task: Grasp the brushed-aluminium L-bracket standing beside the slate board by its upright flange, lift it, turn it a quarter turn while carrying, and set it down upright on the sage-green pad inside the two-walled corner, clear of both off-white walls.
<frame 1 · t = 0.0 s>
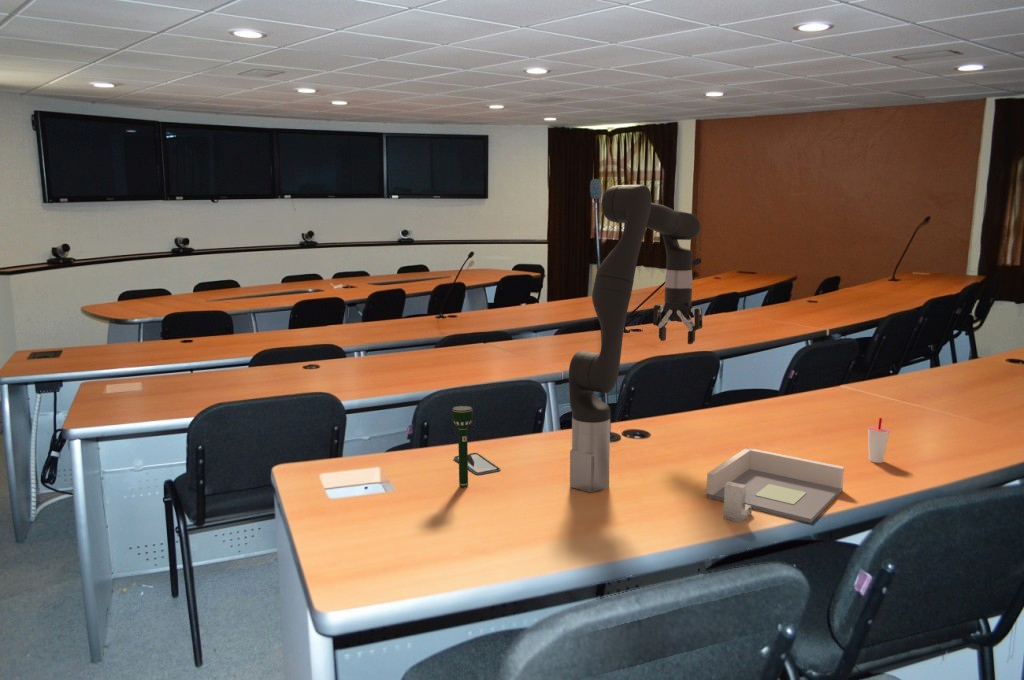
hand: (676, 342, 215), 29 cm above the table, fingers open, 8 cm apart
smartphone: (476, 466, 201), on the table
flashlight: (463, 487, 185), on the table
bracket: (737, 516, 167), on the table
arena: (775, 494, 179), on the table
cup: (875, 461, 202), on the table
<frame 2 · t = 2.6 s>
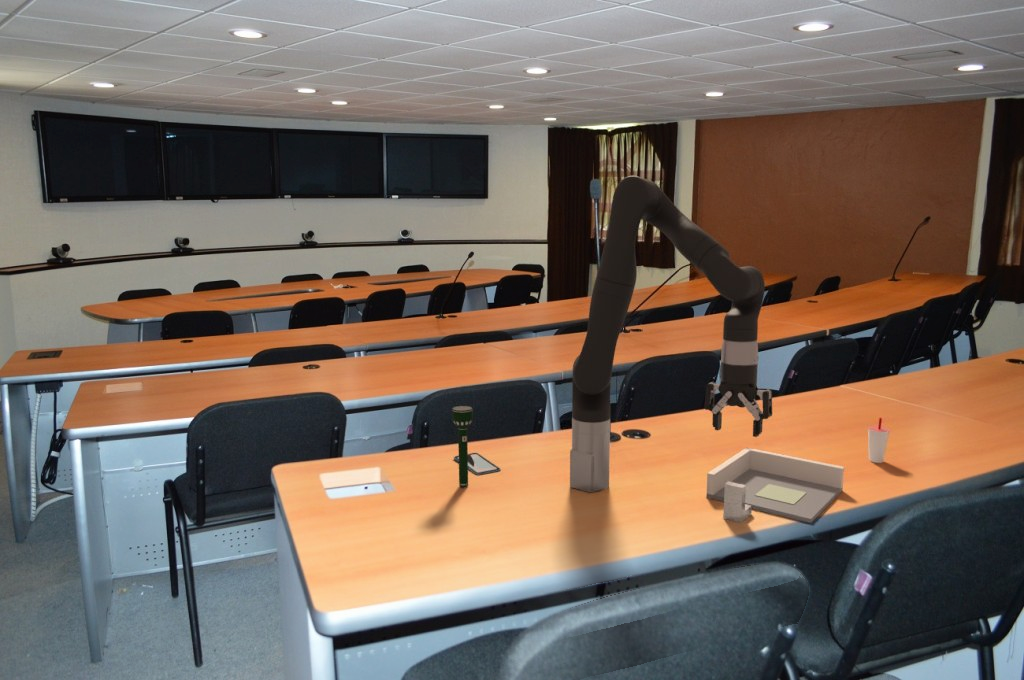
hand: (736, 432, 164), 19 cm above the table, fingers open, 8 cm apart
nothing on the table moved.
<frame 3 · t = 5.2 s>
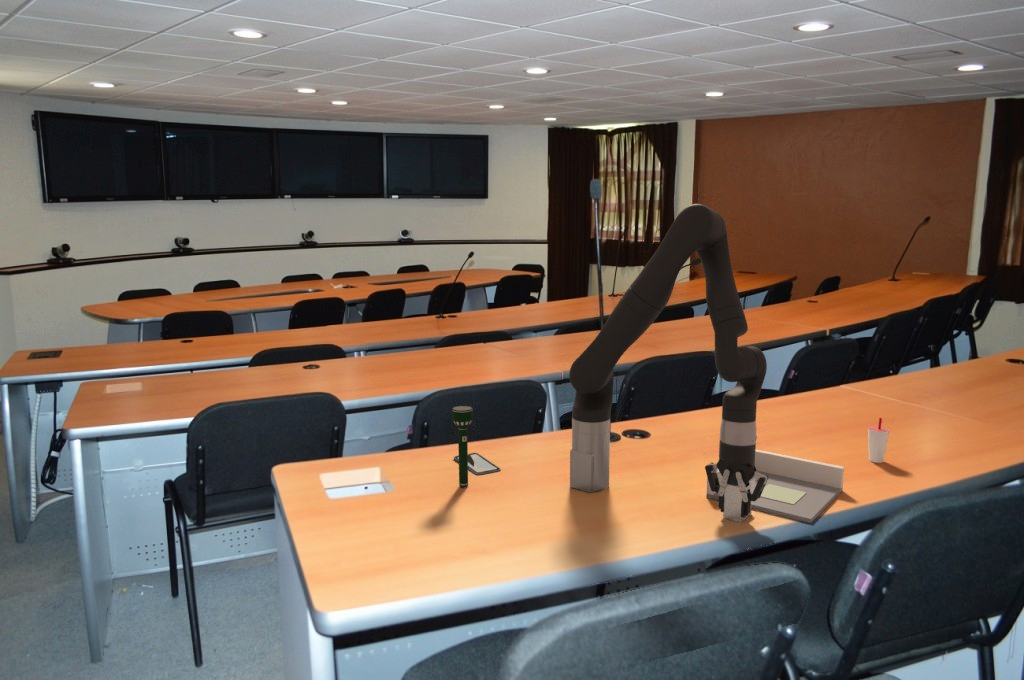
hand: (734, 513, 165), 1 cm above the table, fingers closed on bracket, 4 cm apart
bracket: (737, 516, 167), on the table, touching gripper
everything else where it was.
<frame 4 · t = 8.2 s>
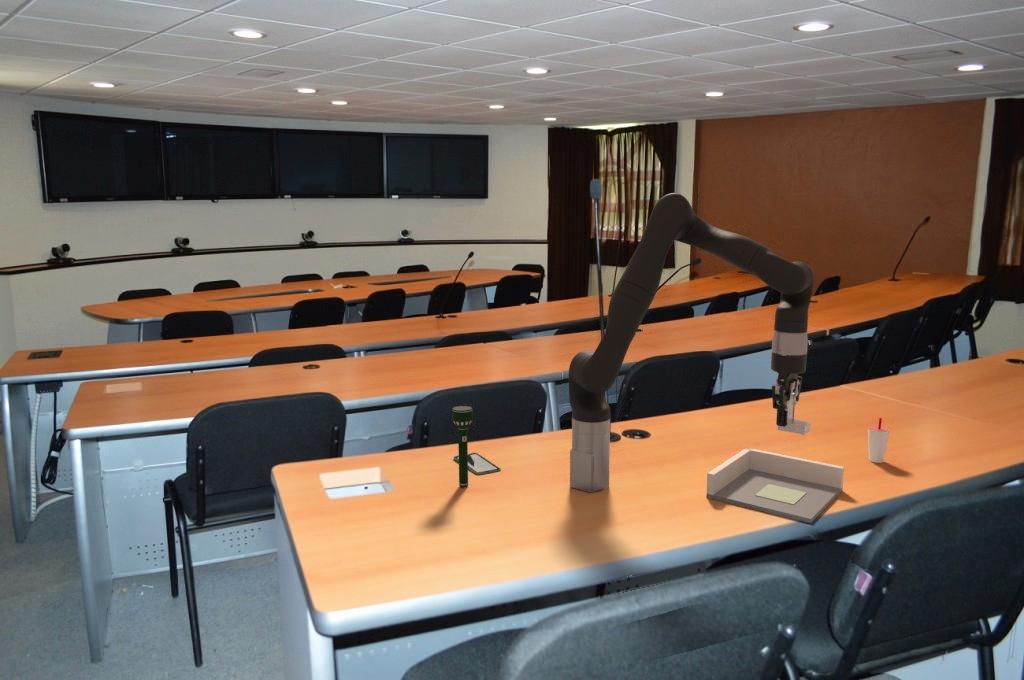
hand: (784, 423, 173), 18 cm above the table, fingers closed on bracket, 4 cm apart
bracket: (793, 430, 172), point 17 cm above the table, touching gripper
everything else where it was.
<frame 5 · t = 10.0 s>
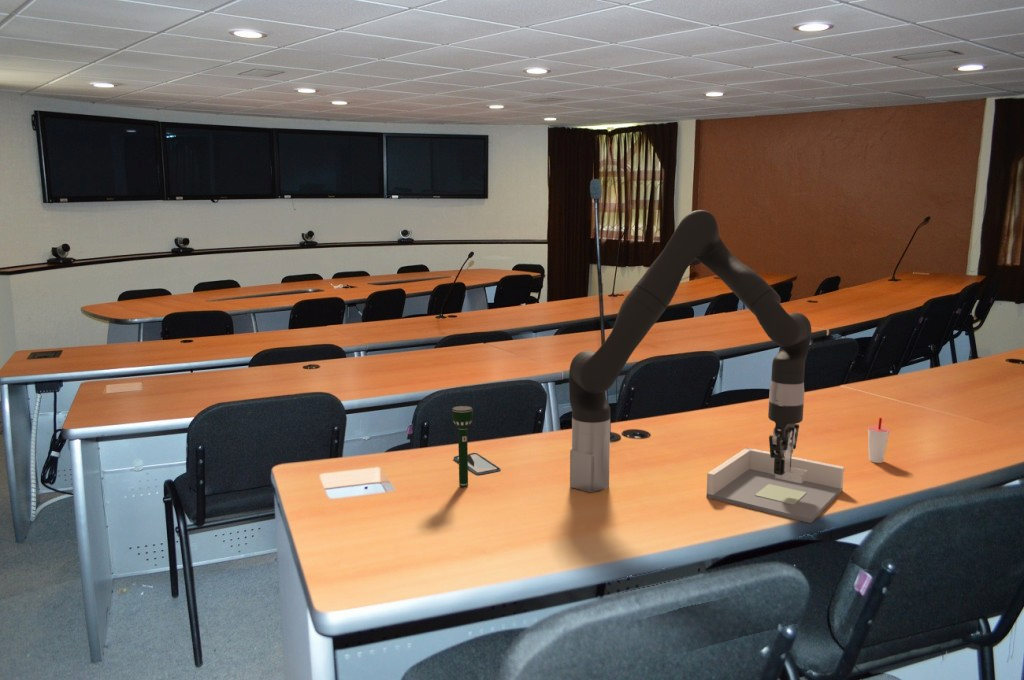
hand: (782, 471, 176), 7 cm above the table, fingers closed on bracket, 4 cm apart
bracket: (791, 478, 174), point 5 cm above the table, touching gripper
everything else where it was.
when the fingers open (3 cm above the table, at t = 11.5 s): bracket stays where it is, resting on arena.
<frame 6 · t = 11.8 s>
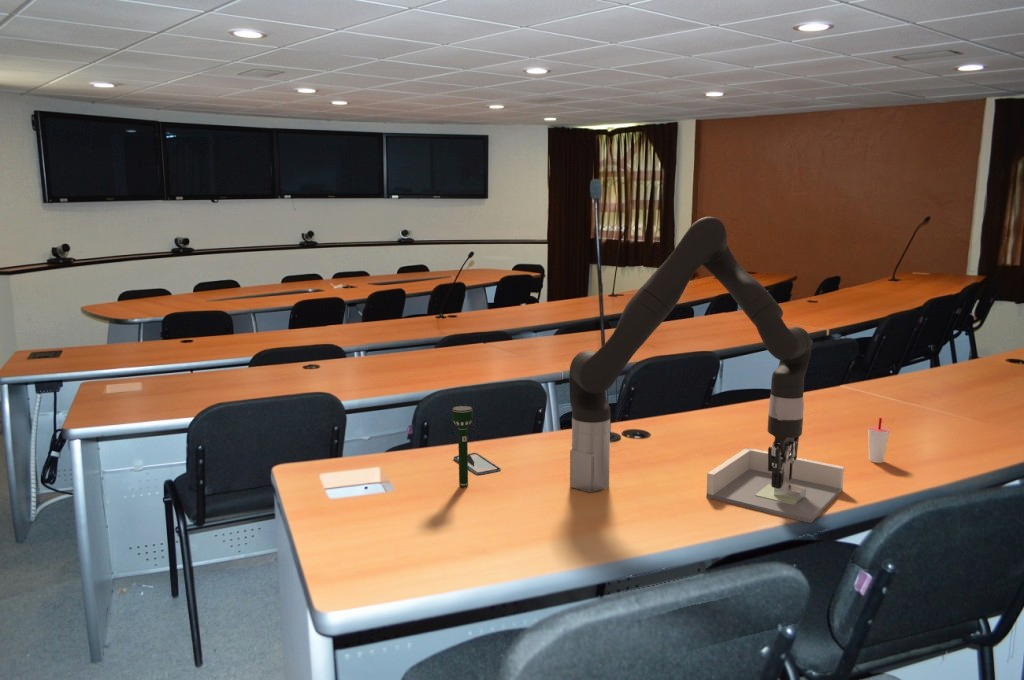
hand: (781, 483, 176), 4 cm above the table, fingers open, 6 cm apart
bracket: (789, 495, 175), point 1 cm above the table, touching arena
everything else where it was.
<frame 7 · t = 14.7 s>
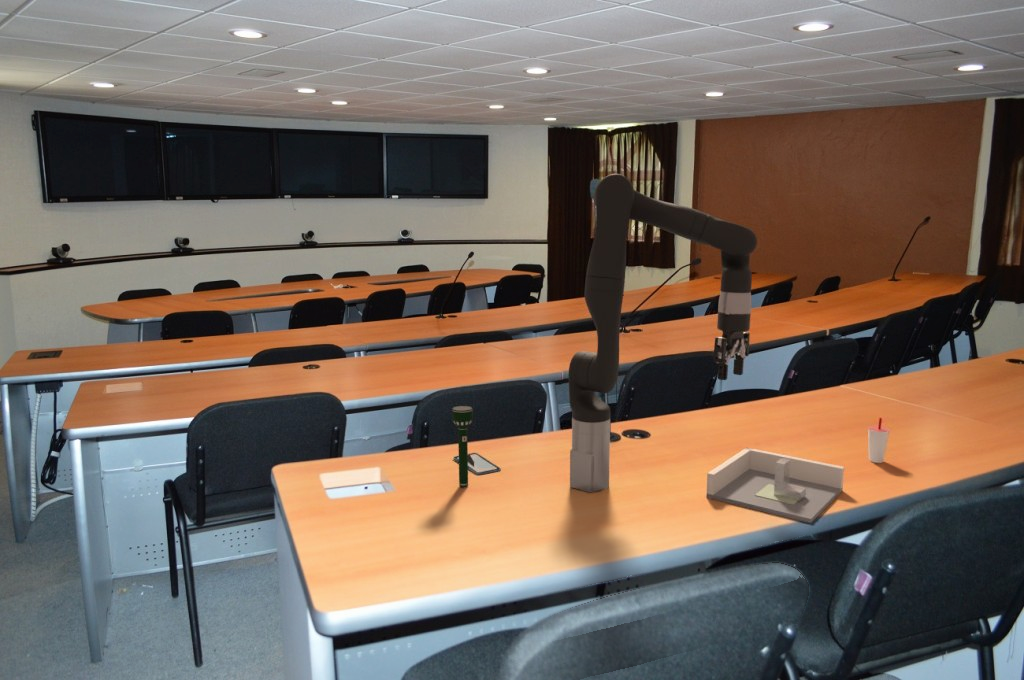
hand: (730, 377, 183), 27 cm above the table, fingers open, 8 cm apart
nothing on the table moved.
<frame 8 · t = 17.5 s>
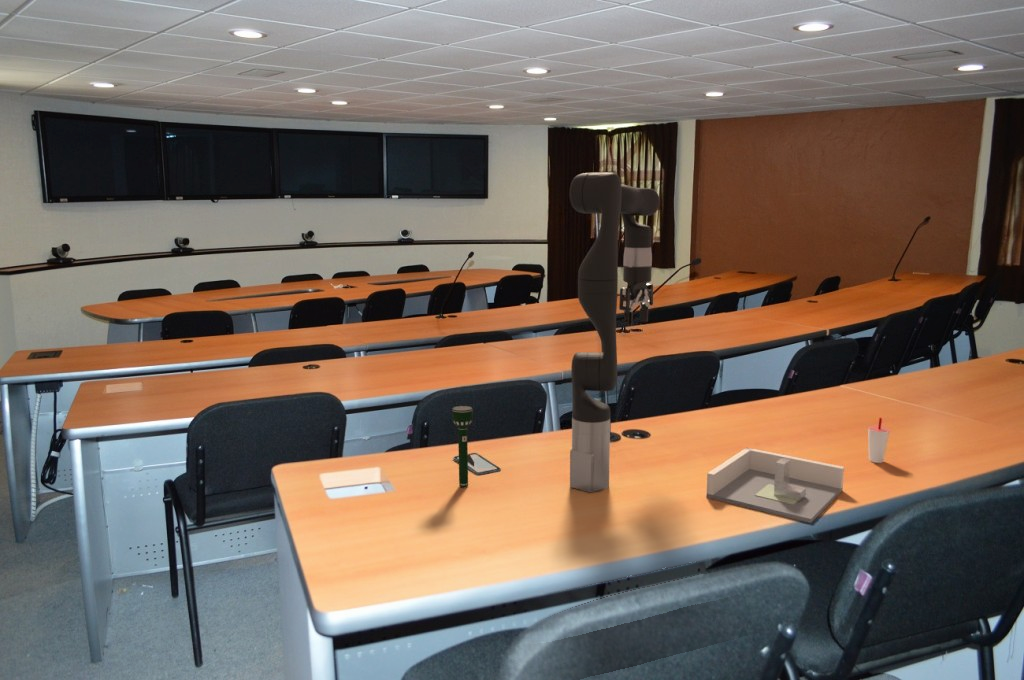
hand: (636, 323, 205), 36 cm above the table, fingers open, 8 cm apart
nothing on the table moved.
at the end: bracket inside the target area on the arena (2.0 cm from its centre), point 1.2 cm above the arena's base; bracket tilted 0°; the gripper is holding nothing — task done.
